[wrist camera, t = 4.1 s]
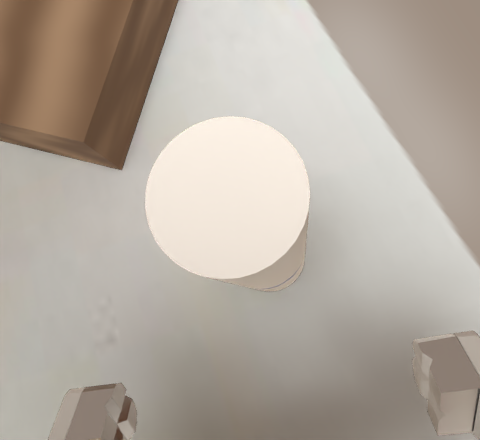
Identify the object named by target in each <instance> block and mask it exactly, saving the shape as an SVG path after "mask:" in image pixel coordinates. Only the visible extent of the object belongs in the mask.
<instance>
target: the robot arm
mask: <svg viewBox="0 0 480 440" xmlns="http://www.w3.org/2000/svg"><path fill="white" fill-rule="evenodd" d="M412 349H413V351H414V353H415V357H414V358H413V359H412V368H413V373H414V378H415V381H416V384H417V387H418V390H419V392H420V395H421V396H422V397H424V398H425V399H426V400H428V404H427V412H428V414H429V416H430V419H431V421H432V424H433V426H434V428H435V431H436V433H437V435H438V436H441V435H452V434H463V433H473V435H474V436H475V437H476V438H477V439H479V440H480V337H479V336H478V334H477V333H476V332H474V331H467V332H461V333H454V334H451V333H450V334H444V335H438V336H432V337H426V338H419V339H414V340H413V347H412ZM125 393H126V388H125V387H124V385H123V384H122V383H116V384H108V385H99V386H91V387H83V388H76V389H70V390H69V391H68V392H67V393H66V394H65V396H64V399H63V401H62V404H61V406H60V409H59V412H58V414H57V417H56V419H55V422H54V424H53V427H52V430H51V432H50V435H49V437H48V440H130V438H131V437H132V436H133V435H134V433H135V430H136V425H137V410H136V406H135V403H134V402H133V400H132V399H131V398H129V397H127V396H125Z"/></svg>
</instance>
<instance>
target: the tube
mask: <svg viewBox="0 0 480 440" xmlns="http://www.w3.org/2000/svg"><path fill="white" fill-rule="evenodd" d="M309 203H310V188H309V178H308V175H307V172H306V169H305V166H304V163H303V161H302V159H301V157H300V156H299V154H298V152H297V151H296V149H295V147H294V146H293V145H292V144H291V143H290V142H289V141H288V140H287V139H286V138H285V137H284V136H283V135H282V134H281V133H279V132H278V131H276V130H275V129H274V128H272V127H271V126H268V125H266V124H264V123H262V122H260V121H257V120H253V119H249V118H245V117H232V116H227V117H219V118H212V119H209V120H206V121H203V122H200V123H197V124H195V125H193V126H191V127H189V128H188V129H186V130H184V131H182V132H181V133H180V134H179V135H177V136H176V137H175V138H174V139H173V140H171V141H170V142H169V143H168V145H167V146H166V147H165V148H164V149H163V151H162V152H161V153H160V154H159V156H158V158H157V160H156V161H155V163H154V165H153V167H152V169H151V172H150V175H149V177H148V181H147V187H146V192H145V211H146V216H147V220H148V225H149V228H150V230H151V232H152V234H153V236H154V239H155V241H156V242H157V244H158V245H159V246H160V248H161V249H162V250H163V252H164V253H165V254H166V255H167V256H168V257H169V258H170V259H171V260H173V261H174V262H175V263H176V264H177V265H179V266H180V267H182V268H184V269H186V270H187V271H189V272H191V273H194V274H197V275H200V276H203V277H206V278H211V279H215V280H219V281H223V282H227V283H231V284H236V285H240V286H244V287H248V288H252V289H256V290H260V291H267V292H271V291H278V290H282V289H284V288H286V287H288V286H289V285H291V284H292V283H293V282H294V281H295V280H296V279H297V278H298V276H299V275H300V273H301V271H302V269H303V266H304V260H305V250H306V238H307V227H308V215H309Z"/></svg>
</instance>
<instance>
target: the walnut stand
mask: <svg viewBox="0 0 480 440" xmlns="http://www.w3.org/2000/svg"><path fill="white" fill-rule="evenodd" d="M177 2H178V0H0V141H4V142H8V143H13V144H17V145H21V146H25V147H29V148H33V149H37V150H41V151H45V152H49V153H54V154H58V155H62V156H66V157H70V158H74V159H78V160H82V161H86V162H91V163H95V164H99V165H103V166H107V167H111V168H115V169H119V170H122V167H123V164H124V161H125V158H126V155H127V152H128V149H129V146H130V143H131V140H132V137H133V134H134V131H135V128H136V125H137V122H138V119H139V116H140V113H141V110H142V107H143V104H144V101H145V98H146V95H147V92H148V89H149V86H150V83H151V80H152V77H153V74H154V71H155V68H156V65H157V62H158V59H159V56H160V53H161V50H162V47H163V44H164V41H165V38H166V35H167V32H168V29H169V26H170V23H171V20H172V17H173V14H174V11H175V8H176V5H177Z"/></svg>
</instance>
